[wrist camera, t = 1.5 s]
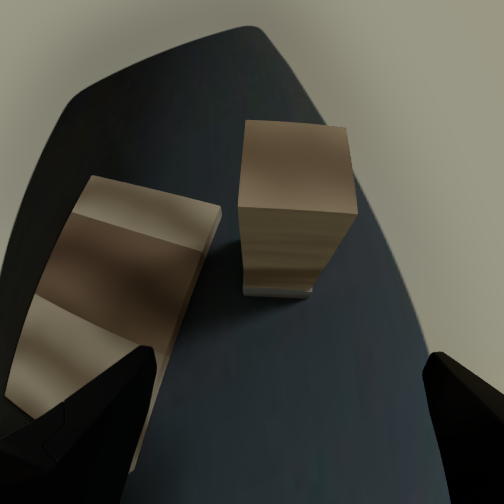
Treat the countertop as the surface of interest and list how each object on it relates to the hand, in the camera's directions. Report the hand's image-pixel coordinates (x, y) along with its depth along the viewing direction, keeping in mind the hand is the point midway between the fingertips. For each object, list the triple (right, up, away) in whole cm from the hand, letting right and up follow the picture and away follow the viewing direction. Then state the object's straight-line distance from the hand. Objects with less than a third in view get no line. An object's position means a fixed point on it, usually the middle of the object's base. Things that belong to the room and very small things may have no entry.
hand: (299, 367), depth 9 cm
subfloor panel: (-13, -1, +14) cm, 19 cm away
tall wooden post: (+1, +2, +15) cm, 16 cm away
